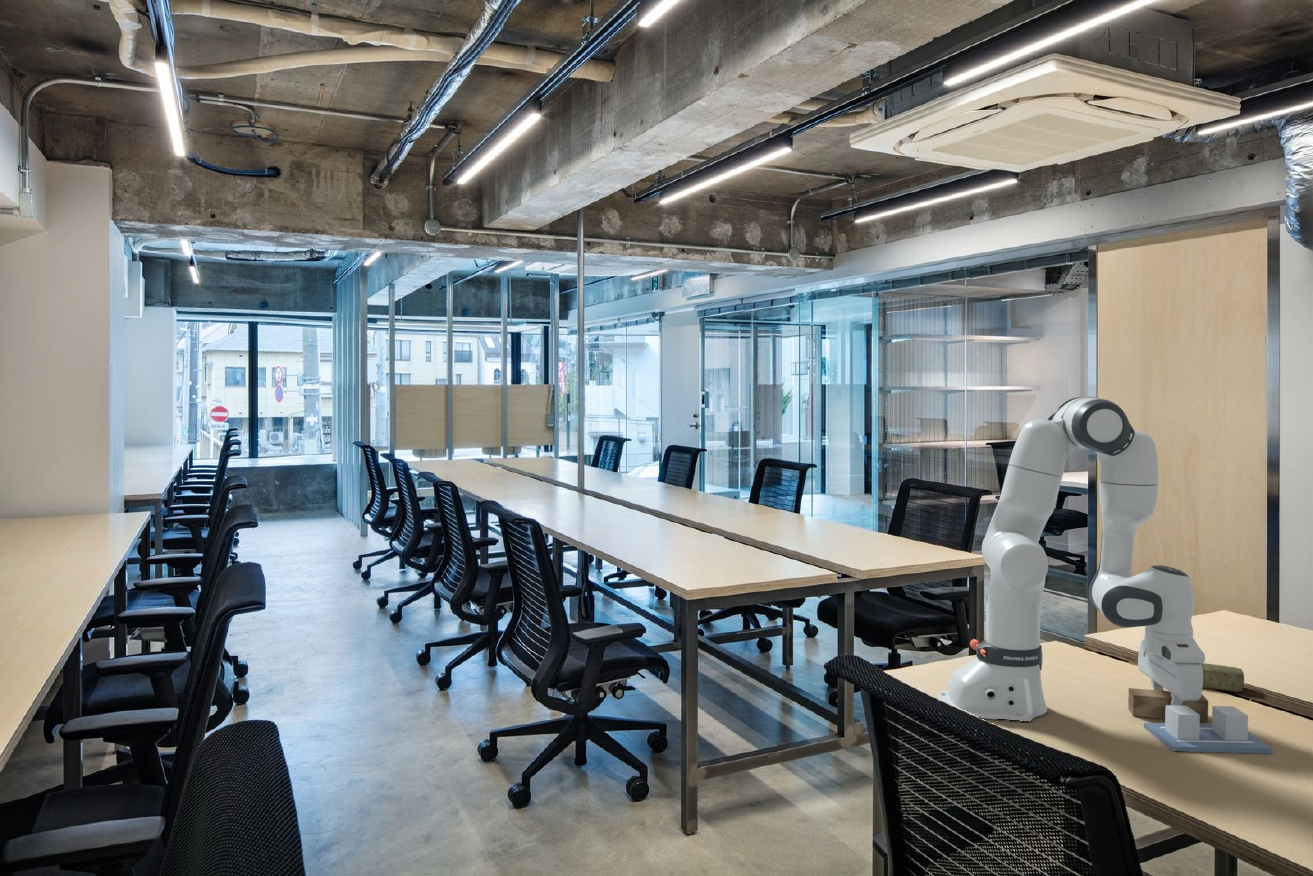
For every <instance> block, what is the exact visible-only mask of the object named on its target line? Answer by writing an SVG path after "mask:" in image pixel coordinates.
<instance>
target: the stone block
mask: <svg viewBox="0 0 1313 876" xmlns="http://www.w3.org/2000/svg"><path fill="white" fill-rule="evenodd" d="M1200 664H1201V666H1202V669H1203V687H1202V689H1210V690H1219V691H1225V692H1232V693H1233V692H1234V693H1240V692H1242V691H1243V689H1244V684H1245V673H1244V671H1243V669H1242V668H1240V667H1239V668H1238V667H1235V666H1228V665H1221V664H1212V663H1205V662H1204V663H1200Z"/></svg>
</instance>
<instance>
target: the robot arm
mask: <svg viewBox="0 0 1313 876" xmlns="http://www.w3.org/2000/svg"><path fill="white" fill-rule="evenodd" d="M1077 448H1080V449H1083V450H1090V451H1092V452H1093V451H1094V452H1095V453H1096V455H1097V457H1098V461H1099V466H1100V470H1099V484H1098V489H1099V493H1098V494H1099V495H1098V496H1099V506H1100V512H1101V513H1100V514H1101V521H1102V522H1101V523H1102V531H1101V544H1100V545H1101V546H1100V554H1099V555H1100V557H1099V558H1100V559H1099V564H1098V568H1097V571H1096V572H1095V574H1094V575H1093V578H1092V580H1091V581H1090V583H1089V587H1088V596H1089V600H1090V602H1091V603H1092V606H1094V608H1095V609H1096V610H1098V611H1099V612H1100V613H1101V614H1102V616H1104V617H1105V618H1106V619H1107V620H1108V621H1109V622H1110V623H1111V624H1113V625H1115V626H1118V627H1120V628H1138V627H1140V628H1141V627H1144V635H1143V640H1141V641H1140V643H1139V649H1138V657H1137V666H1138V670H1139V672H1141V673H1142V674H1143V675H1145V676H1146V677H1148V678H1149V679H1150V683H1151V687H1152V690H1160V691H1165V690H1166V691H1169V692H1171V697H1172V700H1171V703H1169V705H1180V706H1181V705H1182V703H1183V701H1198V700H1199V699H1200V697H1201V695H1203V688H1202V687H1203V669H1202V666H1201V664H1200V663H1205V662H1206V655H1205V652H1204V651H1203V650H1202V649H1201V647H1200V646H1199V645H1198V643H1197V642H1196V639H1195V638H1194V628H1193V625H1192V617H1193V615H1194V612H1195V599H1194V585H1193V581H1192V578H1191V577H1190V576H1189V575H1188V574H1187V573H1186V572H1184V571H1183V570H1181V569H1178V568H1176V567H1171V566H1166V565H1152V566H1150V567H1149V568H1148V569H1146V570H1144V571H1143V572H1142V571H1141V572H1140V573H1138V574H1136V575H1133V573H1132V563H1133V561H1132V560H1133V554H1134V553H1133V551H1134V541H1135V534H1136V533H1137V531H1138V528H1139V527H1140V526H1141V525H1142V524H1144V523H1145V522H1147V521H1148V520H1149V519H1150V518H1151V517H1152V516H1153V515H1154V512H1155V509H1156V504H1157V500H1158V493H1159V465H1158V463H1159V461H1158V453H1157V449H1156V443H1155V441H1154V439H1153V437H1151V436H1150V435H1149V434H1147V433H1145V432H1143V431H1141V430H1134V428H1133V426H1132V425H1131V422H1130V421H1129V419H1128V415H1126V413H1125V411H1124V410H1123V409H1122V408H1121V407H1120V406H1119V405H1118V404H1117V403H1115V402H1113V401H1111V400H1109V399H1103V398H1100V397H1097V396H1078V397H1073V398H1071V399H1068V400H1067V401H1064V402H1063V403H1061V405H1060V406H1059V407H1058V408H1057V409H1055V411H1054V412H1053V413H1052V415H1050V416H1049V417H1048V418H1047V419H1045V418H1044V419H1033V420H1031V421H1028V422H1026V423H1025V424H1024V425H1023V426H1022V428H1021V430H1020V431H1019V433H1018V436H1017V439H1016V441H1015V443H1014V446H1013V449H1012V452H1011V454H1010V457H1009V461H1008V465H1007V468H1006V472H1005V476H1004V480H1003V485H1002V488H1001V493H1000V496H999V499H998V501H997V505H996V507H995V509H994V512H993V515H992V516H991V519H990V522H989V525H988V527H987V530H986V534H985V536H984V538H983V539H982V540H983V541H982V543H981V555H982V559H983V561H984V563H985V564H986V565H987V567H988V568H989V570H990V581H989V590H988V597H987V602H986V604H985V639H984V640H983V641H981V642H979V640H978V639H975V638H973V639H971V640H970V642H969V646H970V648H972V649H973V650H974V651H976V654H975V655H976V656H975V657H974V658H972V659H971V660H969V661H968V662H967V663H965V664H964V665H962V666H960V667H959V668H957V669H955V670H954V671H953V673H952V674H951V677H950V679H949V685H948V689H946V690H944V689H943V690H941V691H940V692H939V693H938V698H937V699H939V700H943V701H945V702H946V703H948V704H950V705H954V706H956V707H958V708H960V709H961V710H966V711H967V712H969V713H971V714H975V716H978V717H980V718H979V719H986V720H997V719H1013V720H1022V721H1029V722H1031V720H1032V719H1033V720H1034V718H1037V717H1040V716H1042V715H1045V714H1046V713H1047V712H1048V706H1047V704H1046V700H1045V695H1044V690H1043V684H1042V676H1041V675H1042V674H1041V671H1042V669H1043V668H1042V667H1043V648H1042V645H1041V642H1040V641H1041V639H1040V638H1041V607H1042V601H1043V596H1044V591H1045V584H1046V577H1047V574H1048V572H1049V562H1048V561H1049V560H1048V556H1047V554H1046V552H1045V550H1044V547H1043V546H1041V544H1040V543H1039V541H1040V538H1041V536H1042V533H1043V530H1044V529H1045V526H1046V525H1047V522H1048V520H1049V518H1050V517H1051V516H1052V514H1053V512H1054V510H1055V506H1056V503H1057V498H1058V495H1059V491H1060V488H1061V484H1062V483H1061V482H1062V480H1063V475H1064V472H1065V467H1066V462H1067V461H1068V458H1069V457H1070V455H1071V454H1072V453H1073V451H1075V450H1076V449H1077ZM939 700H938V701H939ZM1033 720H1032V721H1033Z"/></svg>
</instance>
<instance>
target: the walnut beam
mask: <svg viewBox="0 0 1313 876" xmlns="http://www.w3.org/2000/svg"><path fill="white" fill-rule="evenodd" d="M1127 693H1128V696H1127V697H1128V699H1127V700H1128V701H1127V702H1128V704H1127V705H1128V707H1127V709H1128V710H1129V712H1130V713H1131V715H1132V716H1133V717H1143V718H1155V719H1165V711H1166V705H1169V703H1171V700H1172V697H1171V692H1169V691H1168V690H1164V691H1160V690H1153V689H1146V688H1145V689H1144V688H1133V687H1131V688H1130V687H1129V688H1128V692H1127ZM1181 706H1188V707H1189V708H1191V709H1192V710H1193V711H1195V712H1196V713H1198V714H1199V715H1200V722H1202V723H1208V722H1209V721H1208V720H1209V700H1208V699H1207V697H1205V696H1204V695H1203V694H1202V695H1201V697H1200V699H1199V700H1198V701H1183V703H1182V705H1181Z"/></svg>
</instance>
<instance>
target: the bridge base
mask: <svg viewBox="0 0 1313 876" xmlns="http://www.w3.org/2000/svg"><path fill="white" fill-rule="evenodd" d="M1211 708H1212V711H1211V712H1212V713H1211V723H1200V715H1199V714H1198V713H1196V712H1195V711H1193V710H1192V709H1191V708H1189V707H1188V706H1180V705H1166V711H1165V718H1164V720H1165V722H1144V723H1143V728H1144V729H1145V728H1146V729H1147V731H1148V732H1149V733H1150V732H1151V733H1152V734H1151V733H1150V734H1151V735H1153V737H1155V738H1156V737H1157V738H1158V739H1157V738H1156V739H1157V740H1158V741H1159V742H1161V743H1162V742H1163V743H1164V744H1163V743H1162V744H1163V745H1165V746H1166V747H1167V746H1168V747H1169V748H1168V747H1167V748H1168V749H1169V750H1170V751H1172V752H1173V751H1184V752H1183V753H1219V752H1225V754H1226V753H1227V754H1228V753H1230V754H1231V753H1234V754H1236V753H1237V754H1273V748H1272V747H1271V746H1269V745H1268V744H1266V743H1265V742H1263V741H1261V740H1260V739H1259V738H1257V737H1256V736H1254V735H1252V734H1251V733H1250V732H1249V731H1248V730H1249V715H1248V714H1246V713H1245V712H1243V711H1242V710H1240V709H1238V708H1236V706H1233V705H1212V707H1211ZM1146 729H1145V730H1146ZM1186 751H1188V752H1186ZM1200 751H1202V752H1200ZM1205 751H1206V752H1205Z"/></svg>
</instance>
